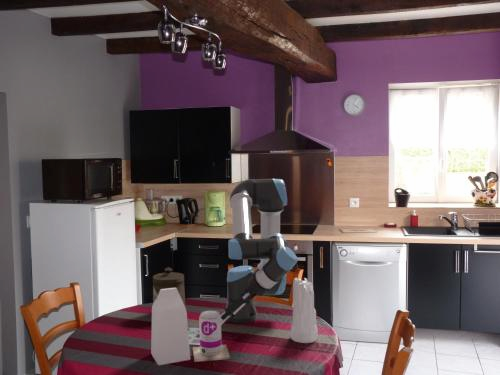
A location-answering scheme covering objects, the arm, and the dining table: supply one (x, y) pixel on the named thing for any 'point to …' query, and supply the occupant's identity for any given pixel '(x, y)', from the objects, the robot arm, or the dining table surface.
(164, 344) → the milk
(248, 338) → the dining table surface
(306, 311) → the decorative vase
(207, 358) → the beige cloth
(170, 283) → the wooden container
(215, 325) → the supplement can
